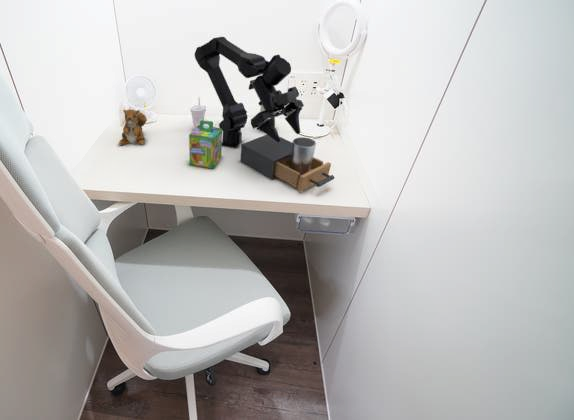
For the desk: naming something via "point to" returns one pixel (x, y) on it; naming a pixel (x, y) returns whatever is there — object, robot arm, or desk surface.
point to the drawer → (314, 176)
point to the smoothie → (197, 114)
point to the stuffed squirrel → (133, 127)
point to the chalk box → (205, 145)
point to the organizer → (265, 154)
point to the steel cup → (302, 155)
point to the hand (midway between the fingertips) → (289, 137)
